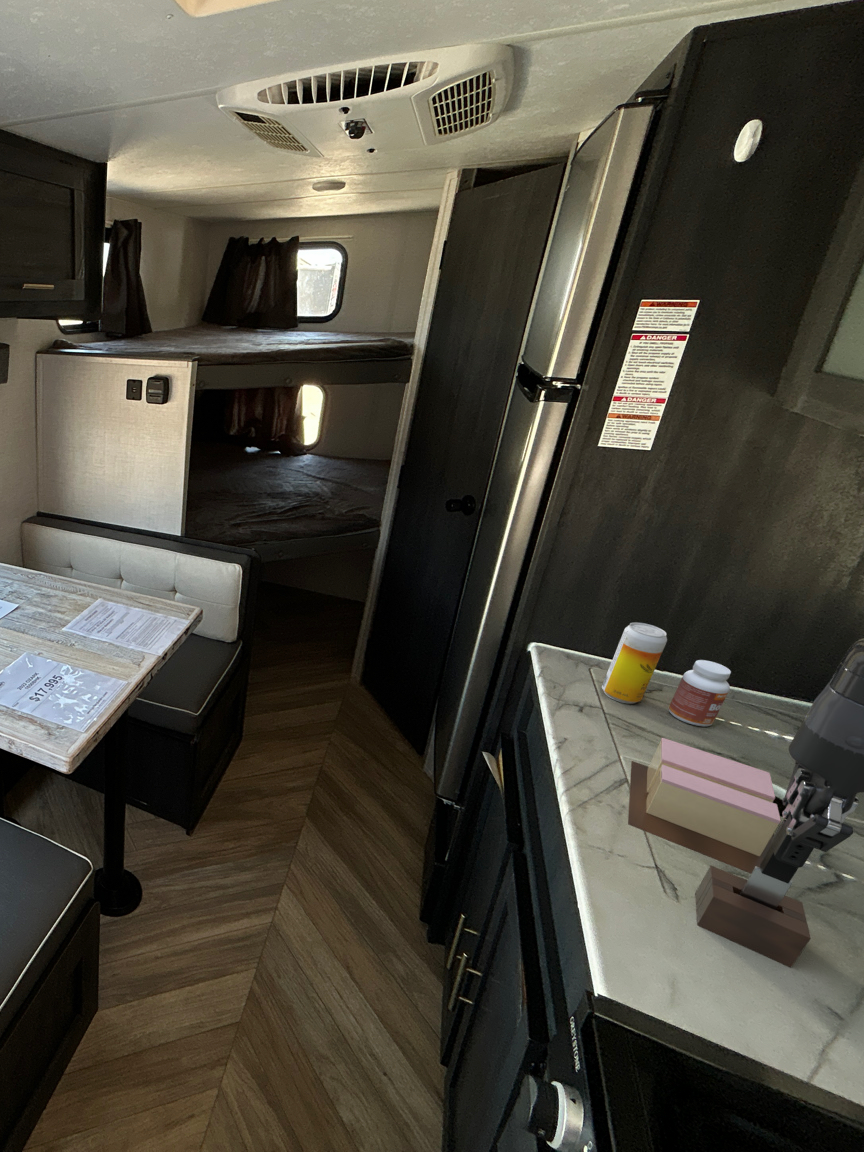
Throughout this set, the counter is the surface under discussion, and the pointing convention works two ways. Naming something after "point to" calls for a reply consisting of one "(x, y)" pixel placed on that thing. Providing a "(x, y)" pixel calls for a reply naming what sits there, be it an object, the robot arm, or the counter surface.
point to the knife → (770, 877)
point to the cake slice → (713, 810)
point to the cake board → (683, 828)
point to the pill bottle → (701, 693)
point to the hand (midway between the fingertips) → (785, 855)
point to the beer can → (634, 662)
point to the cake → (710, 769)
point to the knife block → (751, 918)
